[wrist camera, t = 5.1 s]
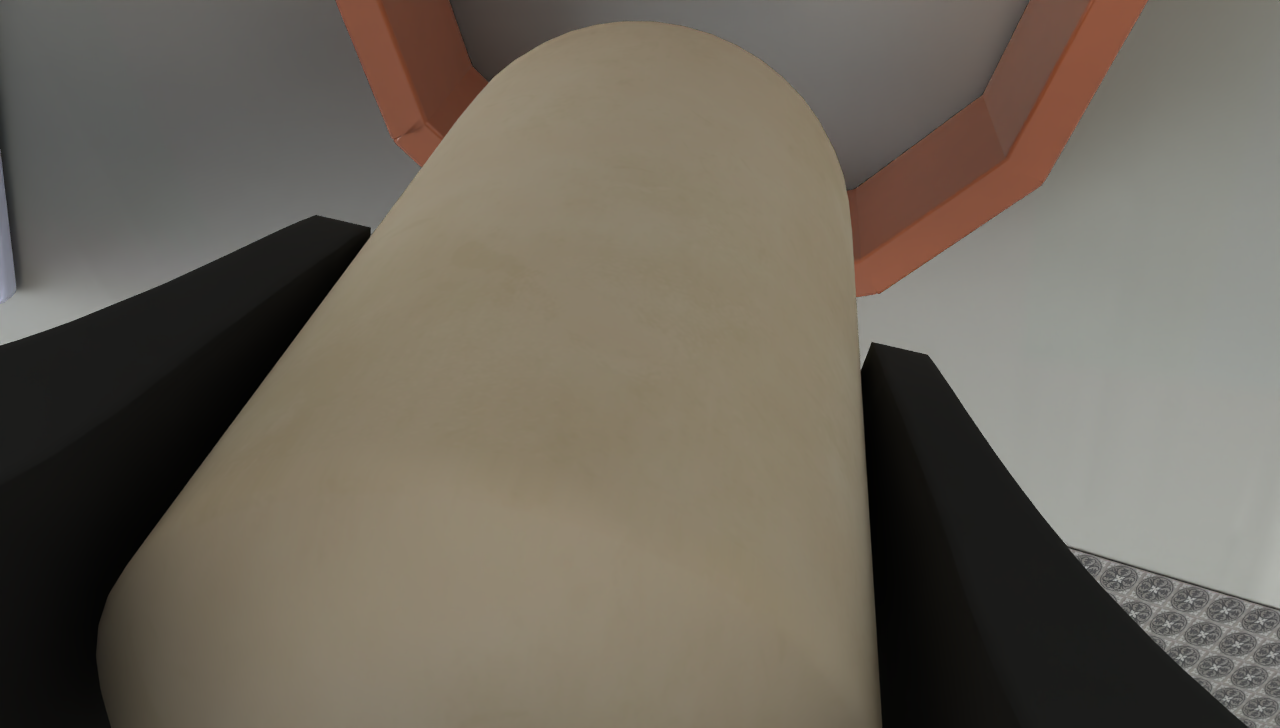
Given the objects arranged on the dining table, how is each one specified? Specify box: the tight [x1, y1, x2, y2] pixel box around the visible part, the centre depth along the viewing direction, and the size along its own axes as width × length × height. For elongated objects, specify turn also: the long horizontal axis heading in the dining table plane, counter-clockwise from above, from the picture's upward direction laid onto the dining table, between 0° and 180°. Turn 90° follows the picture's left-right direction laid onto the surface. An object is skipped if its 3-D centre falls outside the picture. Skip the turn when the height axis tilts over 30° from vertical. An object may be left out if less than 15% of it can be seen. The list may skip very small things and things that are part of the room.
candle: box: [96, 21, 882, 728], centre depth 10 cm, size 6×6×10 cm
